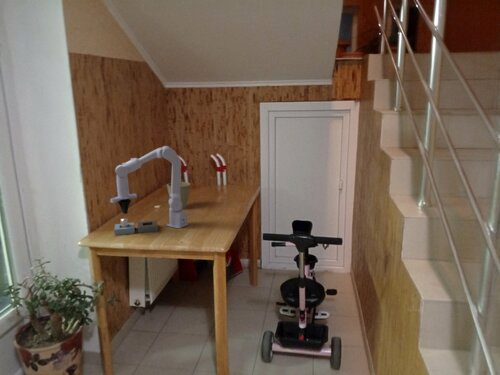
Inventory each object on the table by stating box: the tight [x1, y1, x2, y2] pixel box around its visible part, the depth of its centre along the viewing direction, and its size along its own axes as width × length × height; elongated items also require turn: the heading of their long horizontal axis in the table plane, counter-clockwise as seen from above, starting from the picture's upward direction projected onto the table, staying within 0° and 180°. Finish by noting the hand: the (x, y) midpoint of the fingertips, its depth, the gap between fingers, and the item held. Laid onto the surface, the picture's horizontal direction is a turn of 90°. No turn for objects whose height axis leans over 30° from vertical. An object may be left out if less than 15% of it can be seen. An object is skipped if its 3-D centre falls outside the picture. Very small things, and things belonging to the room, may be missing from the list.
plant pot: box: [166, 181, 191, 210], centre depth 253 cm, size 15×15×16 cm
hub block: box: [113, 222, 136, 236], centre depth 209 cm, size 10×10×3 cm
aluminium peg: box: [119, 217, 129, 228], centre depth 209 cm, size 4×4×7 cm
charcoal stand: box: [137, 220, 159, 234], centre depth 213 cm, size 10×10×3 cm
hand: (125, 213), depth 208 cm, fingers closed
